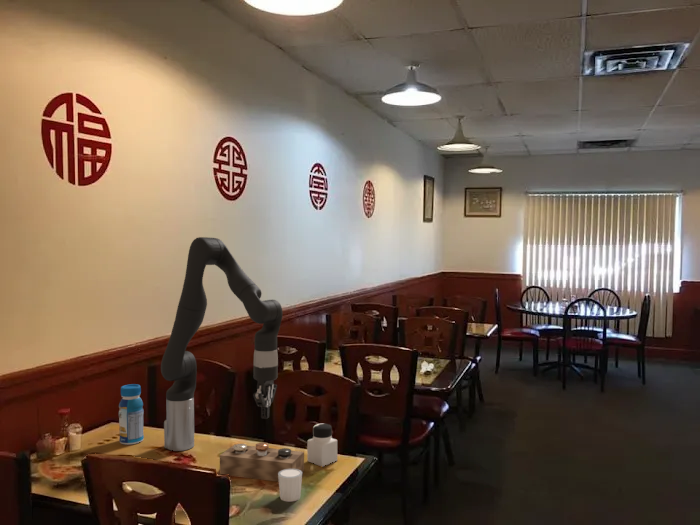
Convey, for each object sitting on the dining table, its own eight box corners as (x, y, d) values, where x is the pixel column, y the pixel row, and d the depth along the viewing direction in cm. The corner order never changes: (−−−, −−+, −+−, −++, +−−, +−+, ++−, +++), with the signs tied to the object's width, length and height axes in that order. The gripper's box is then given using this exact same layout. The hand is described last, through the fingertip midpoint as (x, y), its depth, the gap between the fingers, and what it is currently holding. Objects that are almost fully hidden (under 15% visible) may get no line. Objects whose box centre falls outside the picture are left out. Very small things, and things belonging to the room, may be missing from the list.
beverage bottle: (139, 445, 209) (138, 389, 208) (115, 445, 209) (114, 389, 208) (147, 437, 217) (146, 383, 217) (124, 437, 218) (123, 383, 217)
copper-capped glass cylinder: (253, 469, 184) (253, 446, 183) (259, 464, 187) (258, 442, 187) (265, 470, 182) (265, 447, 182) (270, 465, 186) (270, 443, 186)
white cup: (292, 504, 163) (292, 479, 162) (273, 498, 166) (272, 474, 166) (307, 495, 168) (307, 471, 168) (288, 490, 172) (288, 466, 172)
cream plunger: (231, 470, 186) (231, 447, 185) (237, 465, 190) (237, 443, 189) (243, 471, 185) (243, 448, 184) (249, 466, 188) (248, 444, 188)
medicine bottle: (337, 461, 194) (337, 424, 194) (322, 467, 189) (322, 430, 189) (322, 455, 199) (322, 420, 199) (306, 461, 194) (306, 425, 194)
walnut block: (219, 474, 184) (219, 455, 183) (234, 462, 193) (234, 444, 193) (292, 483, 177) (292, 463, 177) (304, 470, 186) (304, 451, 186)
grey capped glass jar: (276, 475, 182) (275, 452, 181) (281, 470, 185) (281, 447, 185) (288, 476, 180) (288, 453, 180) (293, 471, 184) (293, 449, 184)
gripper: (263, 358, 194) (263, 410, 195) (245, 367, 181) (244, 423, 182) (285, 360, 191) (284, 413, 192) (267, 369, 179) (267, 425, 180)
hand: (265, 418), depth 187 cm, fingers closed
